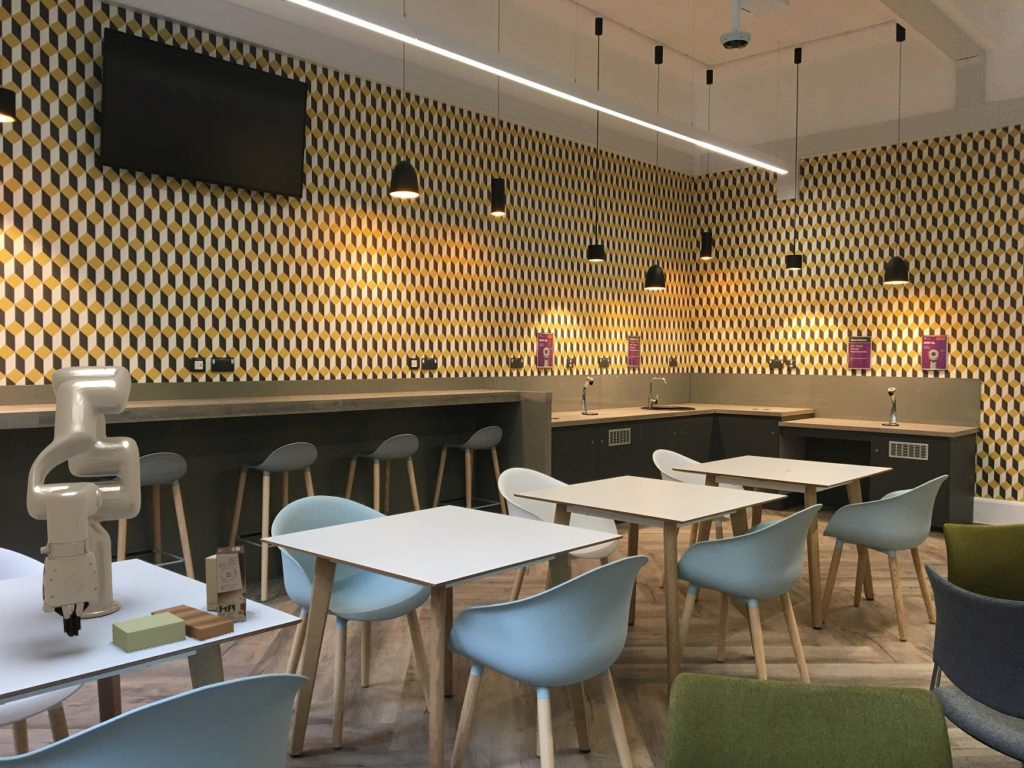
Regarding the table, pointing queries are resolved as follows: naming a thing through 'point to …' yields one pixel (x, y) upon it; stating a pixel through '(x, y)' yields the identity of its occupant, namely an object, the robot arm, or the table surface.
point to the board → (200, 622)
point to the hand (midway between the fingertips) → (72, 634)
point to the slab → (148, 631)
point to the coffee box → (231, 583)
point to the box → (211, 583)
